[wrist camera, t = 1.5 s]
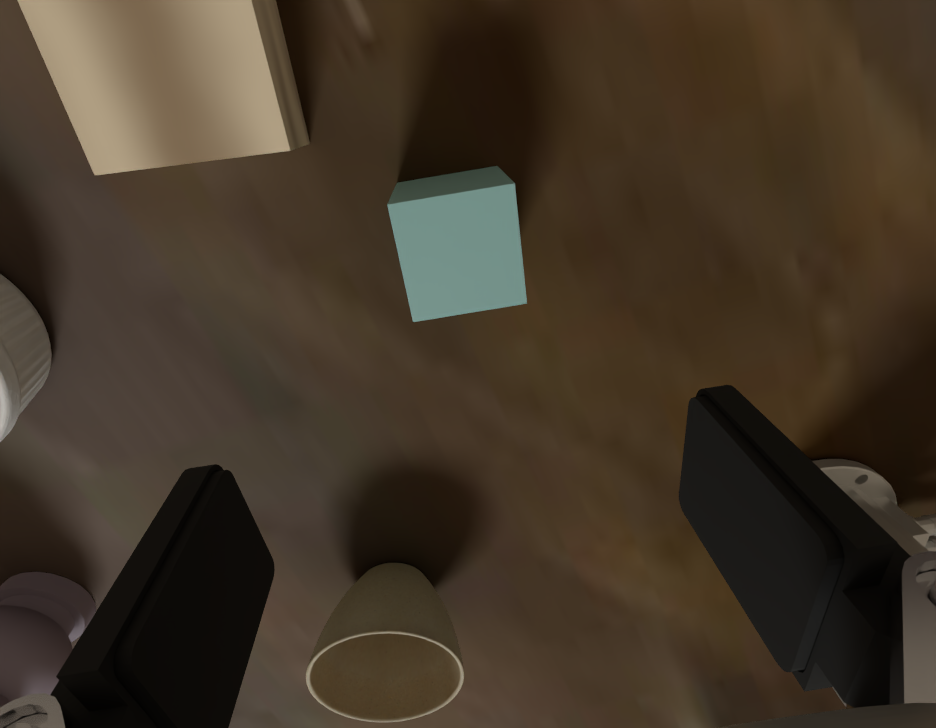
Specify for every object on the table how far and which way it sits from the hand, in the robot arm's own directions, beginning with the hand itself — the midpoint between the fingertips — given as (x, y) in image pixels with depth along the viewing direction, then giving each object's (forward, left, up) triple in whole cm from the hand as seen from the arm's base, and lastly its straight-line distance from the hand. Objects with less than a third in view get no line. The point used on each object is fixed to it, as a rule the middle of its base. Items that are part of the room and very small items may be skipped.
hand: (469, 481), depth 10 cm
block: (-1, -1, -18) cm, 18 cm away
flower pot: (+8, +25, -18) cm, 32 cm away
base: (+9, -10, -18) cm, 23 cm away
